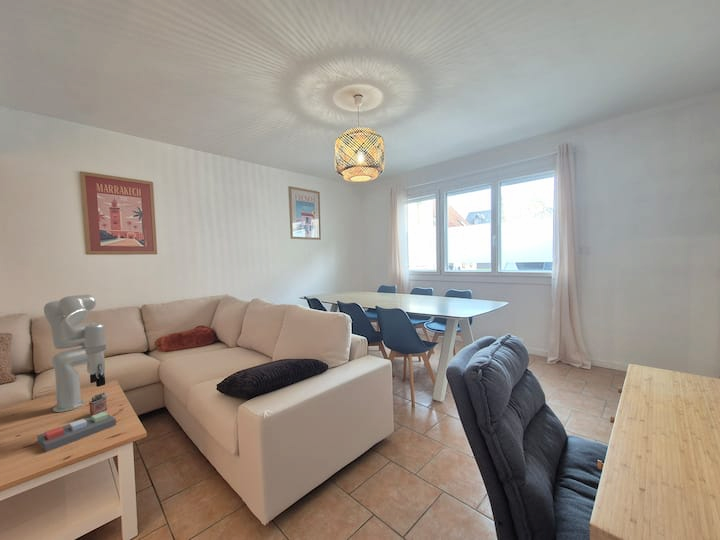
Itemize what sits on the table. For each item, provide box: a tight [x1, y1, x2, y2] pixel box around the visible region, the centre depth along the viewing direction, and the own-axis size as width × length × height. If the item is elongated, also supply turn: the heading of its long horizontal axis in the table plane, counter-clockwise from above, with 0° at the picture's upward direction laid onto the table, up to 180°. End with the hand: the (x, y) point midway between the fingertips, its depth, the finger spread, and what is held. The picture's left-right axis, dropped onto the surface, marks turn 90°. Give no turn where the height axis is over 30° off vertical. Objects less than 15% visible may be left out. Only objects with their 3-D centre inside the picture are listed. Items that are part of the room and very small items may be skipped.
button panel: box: [36, 413, 117, 453], centre depth 138 cm, size 14×24×3 cm, turn 148°
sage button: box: [92, 411, 109, 423], centre depth 145 cm, size 5×5×3 cm
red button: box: [44, 426, 64, 440], centre depth 131 cm, size 5×5×3 cm
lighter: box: [88, 392, 108, 417], centre depth 157 cm, size 8×3×10 cm, turn 168°
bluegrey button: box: [69, 418, 87, 431], centre depth 138 cm, size 5×5×3 cm
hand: (97, 383), depth 145 cm, fingers open, 9 cm apart
